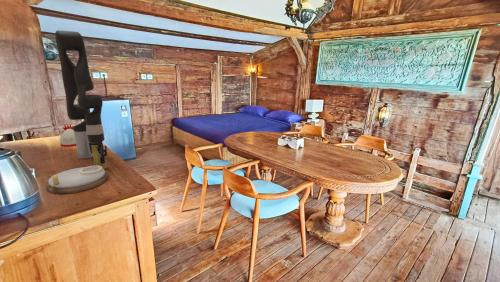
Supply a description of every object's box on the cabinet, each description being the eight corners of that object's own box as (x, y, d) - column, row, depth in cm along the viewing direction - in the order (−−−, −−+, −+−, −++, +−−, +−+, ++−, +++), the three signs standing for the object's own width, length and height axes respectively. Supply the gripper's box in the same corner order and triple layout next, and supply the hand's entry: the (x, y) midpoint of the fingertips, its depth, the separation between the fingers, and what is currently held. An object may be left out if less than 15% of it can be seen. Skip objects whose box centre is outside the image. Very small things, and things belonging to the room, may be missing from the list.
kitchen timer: (65, 142, 178) (61, 123, 174) (86, 141, 182) (83, 122, 178) (57, 147, 165) (52, 126, 161) (79, 146, 169) (76, 126, 165)
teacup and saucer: (68, 137, 192) (67, 132, 191) (71, 139, 187) (70, 134, 186) (55, 139, 185) (54, 134, 184) (57, 141, 181) (56, 136, 179)
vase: (91, 169, 129) (87, 144, 125) (101, 165, 134) (97, 142, 130) (100, 171, 127) (96, 146, 123) (109, 167, 132) (106, 143, 129)
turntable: (40, 180, 109) (37, 170, 108) (90, 166, 128) (89, 156, 126) (62, 193, 99) (60, 181, 97) (114, 175, 117) (112, 165, 116)
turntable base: (37, 185, 109) (36, 179, 109) (92, 169, 129) (91, 163, 129) (61, 199, 98) (60, 192, 97) (117, 179, 118) (116, 173, 117)
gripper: (80, 132, 125) (85, 161, 130) (95, 135, 118) (100, 166, 123) (95, 129, 132) (100, 157, 136) (110, 133, 125) (114, 162, 129)
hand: (100, 161), depth 129 cm, fingers closed on vase, 5 cm apart
